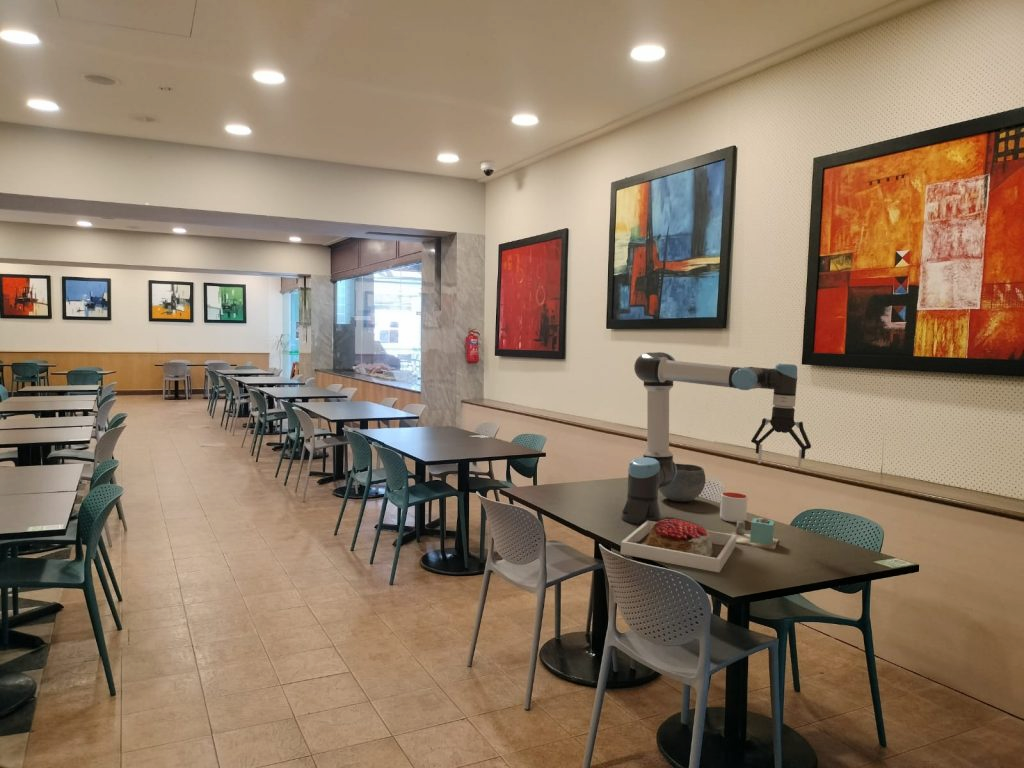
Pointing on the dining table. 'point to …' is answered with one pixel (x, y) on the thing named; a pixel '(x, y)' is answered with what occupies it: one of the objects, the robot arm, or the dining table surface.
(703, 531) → the cake
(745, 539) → the cream base with posts
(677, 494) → the bowl
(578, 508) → the dining table surface
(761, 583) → the dining table surface
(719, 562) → the cake tray
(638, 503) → the robot arm
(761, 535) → the mint green cube
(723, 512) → the cup
